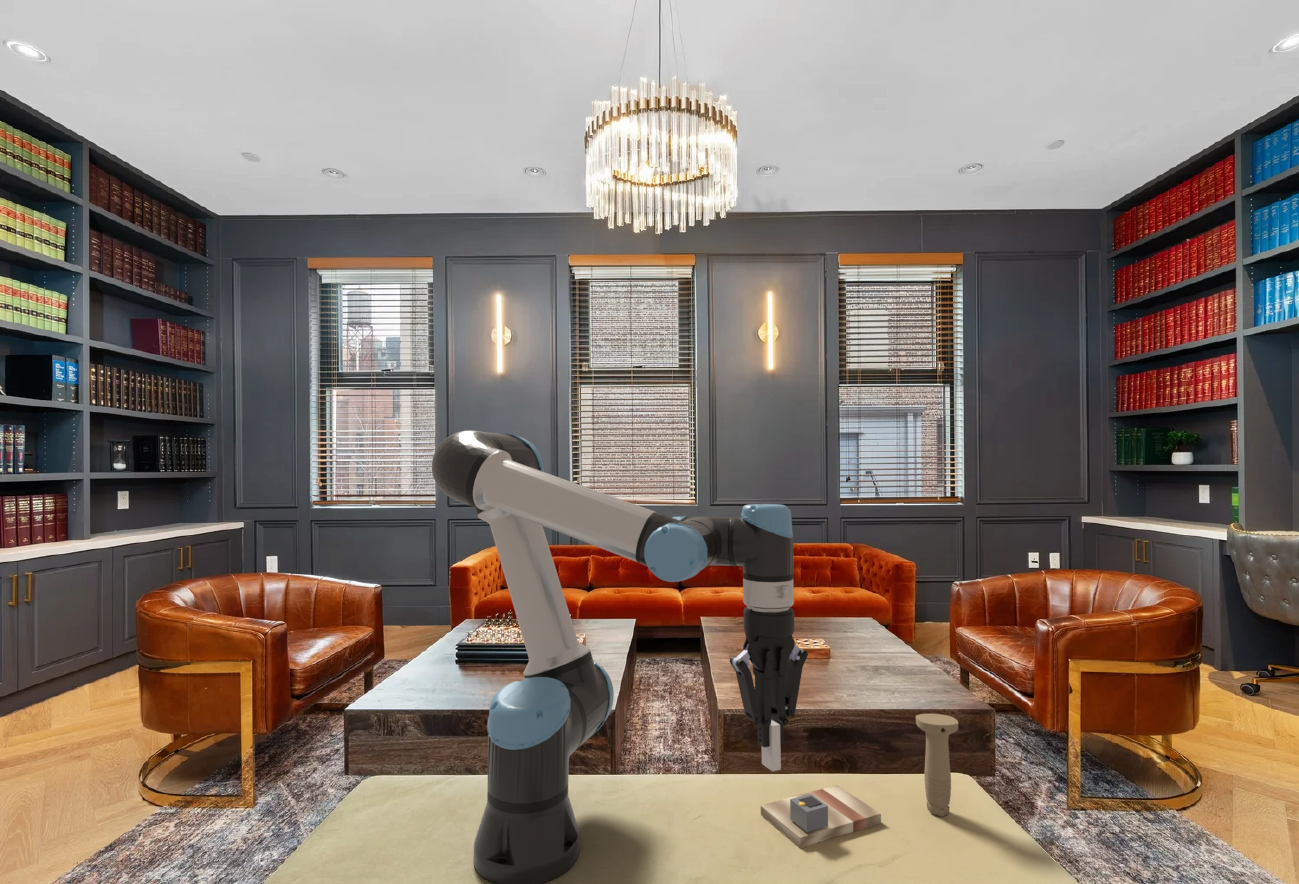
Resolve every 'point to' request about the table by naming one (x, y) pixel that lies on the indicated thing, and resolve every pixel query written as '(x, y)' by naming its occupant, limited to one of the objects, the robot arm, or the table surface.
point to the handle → (937, 760)
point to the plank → (842, 816)
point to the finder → (809, 812)
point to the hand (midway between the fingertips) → (771, 766)
